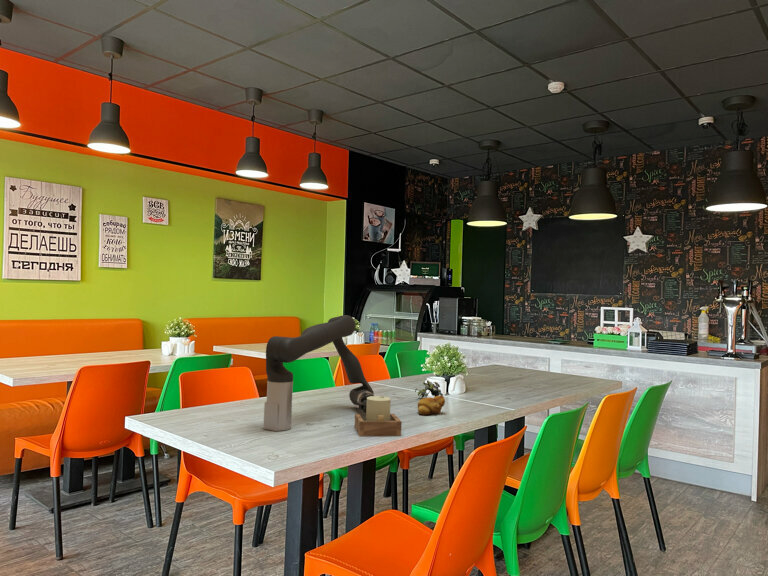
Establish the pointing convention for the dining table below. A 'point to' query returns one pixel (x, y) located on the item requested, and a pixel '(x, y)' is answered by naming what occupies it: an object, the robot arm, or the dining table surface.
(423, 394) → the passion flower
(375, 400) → the can
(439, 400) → the bread roll
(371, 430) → the brown open square box
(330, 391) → the dining table surface
